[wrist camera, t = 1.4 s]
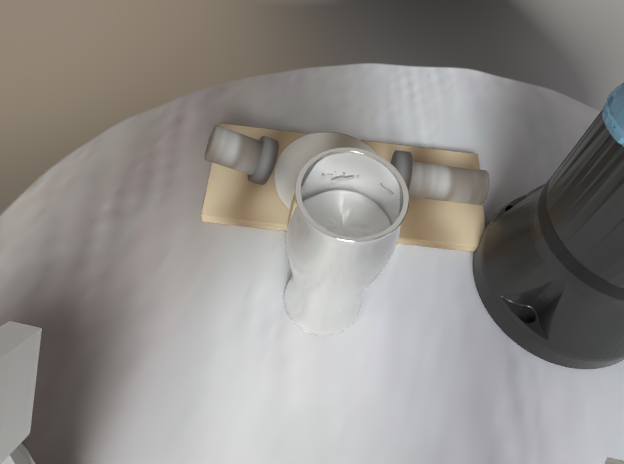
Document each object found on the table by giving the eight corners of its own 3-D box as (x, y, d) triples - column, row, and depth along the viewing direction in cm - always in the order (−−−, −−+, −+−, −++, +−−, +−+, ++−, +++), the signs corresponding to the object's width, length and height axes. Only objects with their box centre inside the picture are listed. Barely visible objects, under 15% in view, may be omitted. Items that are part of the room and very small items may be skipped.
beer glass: (265, 277, 46) (272, 161, 33) (343, 250, 48) (379, 132, 35) (298, 355, 43) (320, 261, 30) (380, 324, 45) (435, 223, 32)
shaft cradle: (474, 160, 54) (496, 120, 49) (483, 252, 49) (509, 217, 44) (216, 129, 53) (213, 85, 48) (197, 220, 48) (191, 180, 43)
